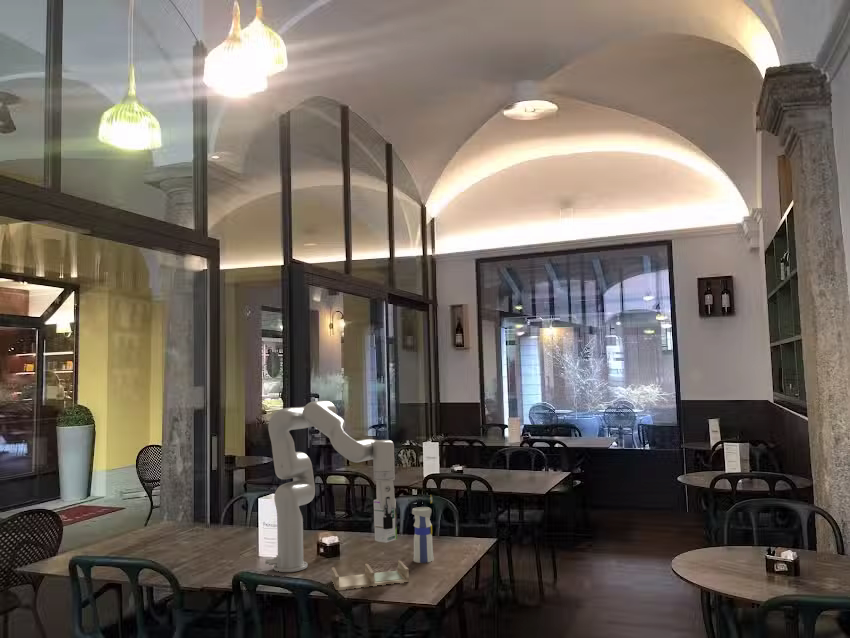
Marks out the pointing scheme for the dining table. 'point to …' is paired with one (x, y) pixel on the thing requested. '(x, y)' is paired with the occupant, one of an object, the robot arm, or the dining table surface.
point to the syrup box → (380, 532)
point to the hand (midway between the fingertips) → (385, 526)
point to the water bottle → (423, 534)
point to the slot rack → (370, 578)
